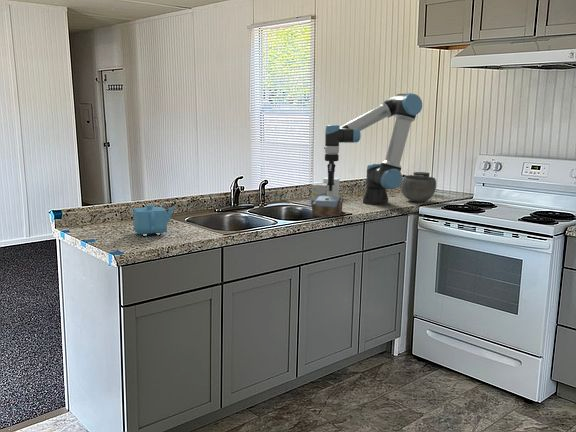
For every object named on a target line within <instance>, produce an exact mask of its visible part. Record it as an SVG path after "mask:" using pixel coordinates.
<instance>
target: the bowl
mask: <svg viewBox="0 0 576 432" xmlns="http://www.w3.org/2000/svg"><path fill="white" fill-rule="evenodd" d="M400 185H401V186H400V187H401V190H400V191H401V193H402V195H403V196H404V198H406V199H407V200H409V201H412V202H416V203H417V202H419V203H420V202H422V203H423V202H427V201H429V200H430V199H432V197H433V196H434V194H435V192H436V189H437V179H436V178H435V177H433V176H429V177H425V176H417V175H414V174H409V175H408V174H407V175H404V177H402V181H401V183H400Z"/></svg>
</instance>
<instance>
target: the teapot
mask: <svg viewBox="0 0 576 432" xmlns="http://www.w3.org/2000/svg"><path fill="white" fill-rule="evenodd" d="M177 208H178V207H177V206H172V207H170V208H168V212H167V210H166V209H165V208H164V207H162V206H154V205H153V204H146V206H145V207H133V208H132V209H133V210H132V211H133V230H134V231H135V232H136V234H137V235H142V234H148V235H149V234H156V233H161V234H162V233H168V225H167V224H168V223H169V222H170V220H171V217H172V213H173V211H174V210H175V209H177Z"/></svg>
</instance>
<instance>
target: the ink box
mask: <svg viewBox="0 0 576 432" xmlns="http://www.w3.org/2000/svg"><path fill="white" fill-rule="evenodd" d="M327 189H328V185H327V184H324V183H323V182H317V183H315V182H314V183H312V184H311V200H310V205H311V206H312V204H313V203H314V202H315V200H316V199H317V198H318V197H319V196H327Z"/></svg>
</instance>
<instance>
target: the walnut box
mask: <svg viewBox="0 0 576 432" xmlns="http://www.w3.org/2000/svg"><path fill="white" fill-rule="evenodd" d="M315 204H316V200H315V202H314V203H313V204H312V205H311V210H312V211H311V217H325V218H326V217H327V218H328V216H339V215H340V216H341V214H342V212H343V199H340V201H339V203H338V205H337V207H322V206H315ZM340 213H341V214H340Z"/></svg>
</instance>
